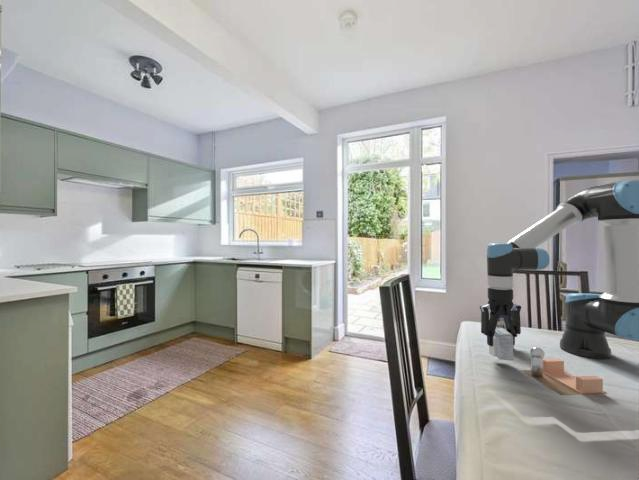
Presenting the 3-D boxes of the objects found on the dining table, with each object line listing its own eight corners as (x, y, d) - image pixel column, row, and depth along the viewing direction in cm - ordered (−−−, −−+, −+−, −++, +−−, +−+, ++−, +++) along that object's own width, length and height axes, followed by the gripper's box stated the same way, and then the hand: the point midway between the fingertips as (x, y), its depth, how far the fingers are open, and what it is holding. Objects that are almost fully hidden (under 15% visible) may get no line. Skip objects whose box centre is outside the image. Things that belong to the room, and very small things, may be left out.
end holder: (559, 370, 95) (559, 358, 95) (604, 393, 81) (604, 379, 81) (539, 371, 95) (539, 359, 95) (580, 394, 81) (581, 379, 81)
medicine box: (513, 360, 96) (513, 334, 96) (498, 359, 97) (498, 334, 97) (503, 351, 104) (502, 327, 104) (489, 350, 105) (489, 326, 105)
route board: (559, 372, 96) (559, 369, 96) (607, 397, 81) (607, 393, 81) (519, 373, 96) (519, 370, 96) (560, 398, 81) (560, 394, 81)
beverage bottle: (514, 346, 120) (514, 298, 120) (514, 352, 113) (515, 301, 113) (490, 342, 125) (490, 295, 125) (489, 348, 118) (490, 299, 118)
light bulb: (537, 373, 94) (537, 345, 94) (547, 378, 90) (547, 349, 90) (527, 373, 93) (527, 345, 93) (536, 378, 90) (536, 349, 90)
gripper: (517, 285, 105) (518, 349, 105) (468, 286, 103) (469, 351, 103) (533, 288, 97) (535, 357, 97) (481, 290, 96) (482, 360, 96)
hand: (501, 354), depth 100 cm, fingers closed on medicine box, 5 cm apart
